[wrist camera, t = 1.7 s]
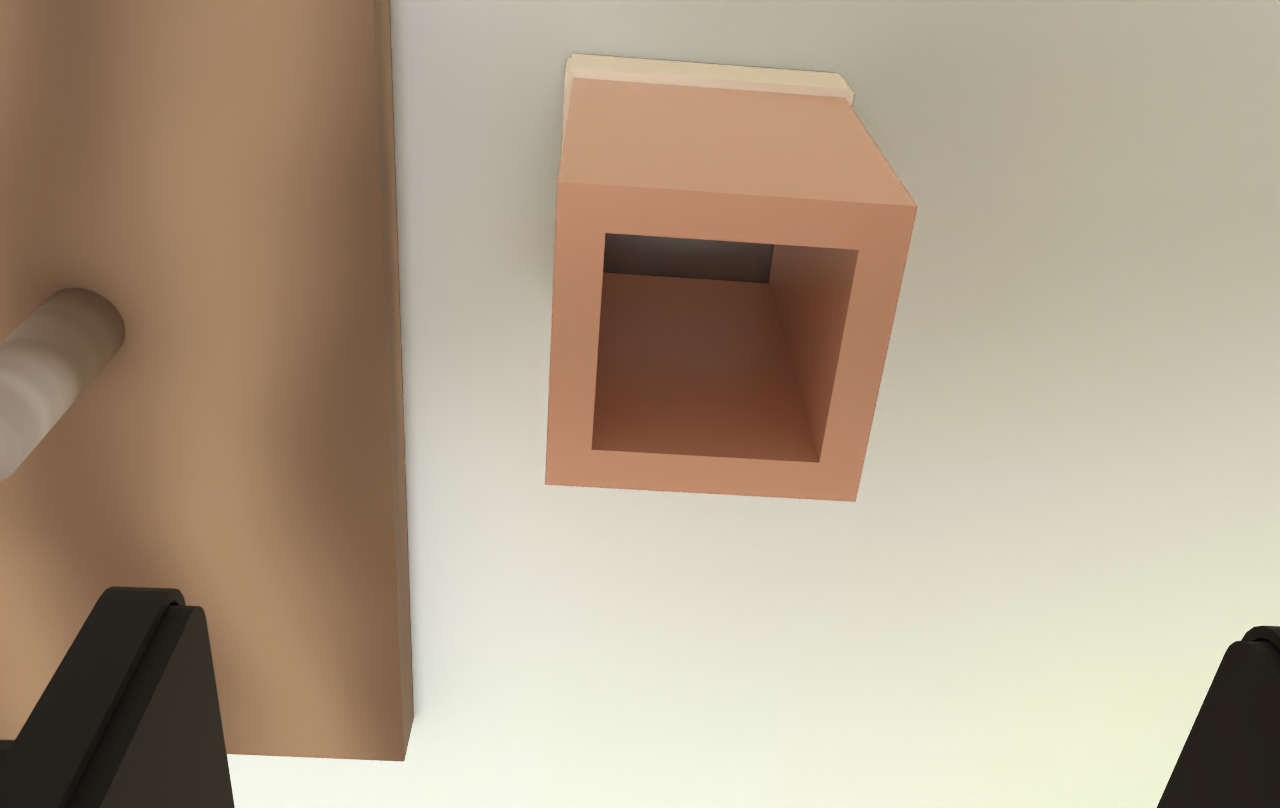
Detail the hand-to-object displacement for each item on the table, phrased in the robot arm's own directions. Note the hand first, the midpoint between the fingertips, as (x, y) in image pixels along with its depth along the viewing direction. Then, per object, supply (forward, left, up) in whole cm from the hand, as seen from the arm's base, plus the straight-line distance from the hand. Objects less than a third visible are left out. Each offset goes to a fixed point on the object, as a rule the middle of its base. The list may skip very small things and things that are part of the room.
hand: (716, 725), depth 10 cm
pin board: (+11, +3, -14) cm, 19 cm away
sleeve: (-1, 0, -14) cm, 14 cm away
